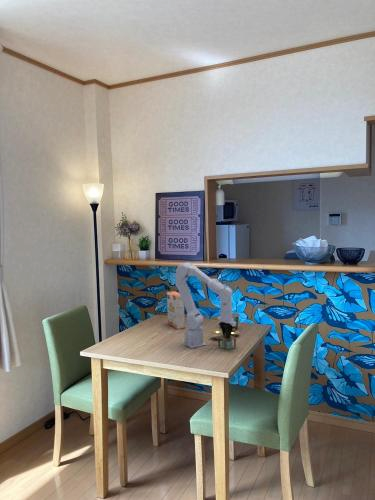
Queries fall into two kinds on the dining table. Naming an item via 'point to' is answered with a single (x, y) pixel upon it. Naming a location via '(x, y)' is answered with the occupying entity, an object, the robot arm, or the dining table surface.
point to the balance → (218, 331)
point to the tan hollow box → (226, 340)
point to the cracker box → (175, 310)
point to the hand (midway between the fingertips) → (226, 336)
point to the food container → (235, 319)
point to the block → (228, 344)
